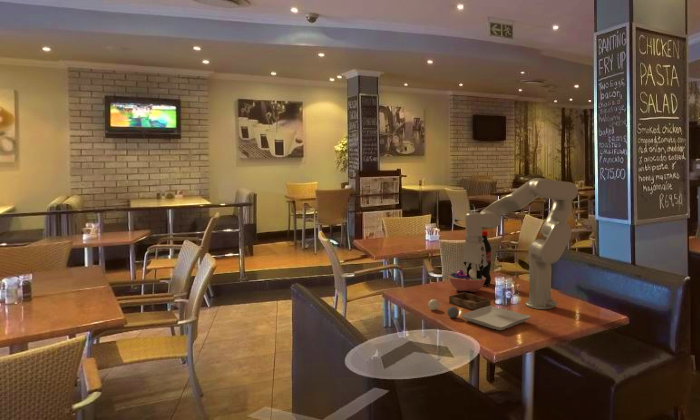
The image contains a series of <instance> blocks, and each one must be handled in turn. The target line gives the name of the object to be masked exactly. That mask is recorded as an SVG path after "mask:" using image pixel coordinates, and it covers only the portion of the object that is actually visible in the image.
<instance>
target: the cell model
mask: <svg viewBox="0 0 700 420" xmlns="http://www.w3.org/2000/svg"><path fill="white" fill-rule="evenodd" d="M447 277H448V279H449V283H450V284H451V286H452V287H453V288H454V289H455V290H456V291H458V292H462V291H463V292H470V293H476V292H478V291H479V290H481V289H482V288H483V285H484V283H485V280H486V278H485V277H484V276H482V278H480V279H477V278H475V279H474V278H471V277H467V272H464V270H463V269H458V270H457V271H456V272H451V273H449V274H448V275H447Z"/></svg>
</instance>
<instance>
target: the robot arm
mask: <svg viewBox="0 0 700 420" xmlns="http://www.w3.org/2000/svg"><path fill="white" fill-rule="evenodd" d="M578 193H579V188H578V186H577V185H576V184H575V183H573V182H570V181H562V180H554V179H548V178H541V177H535V178H534V177H533V178H531V179H530V180H528V181H527V182H526V183H525V182H524V184H522V185H521V186H519V187H517V189H515V190H514V191H513V192H511V193H509V194H507V195H505V196H503V197H502V198H500V199H497V200H496V201H494V202H492V203H490V204H488V206H487V207H485V208H484V209H482V210H481V211H480V212H476V211H475V212H467V213H465V216H464V217H465V218H464V219H465V227H464V228H465V241H464V243H463V244H464V245H463V257H461V262H462V263H463V264H464V266H465V269H466V273H467V277H470V275H469V271H470V269H471V268H473V266H472V265H473V264H475V266H476V265H477V269H478V270H477V271H476V272H477V279H480V278H482V270H483V269H484V268H485V266H487V265H488V263H487V261H486V251H485V245H484V242H482V241H483V240H484V238H482V231H483V229H495V228H497V227H499V226H500V225H501V223H502V219H501V216H503V215H505V214H508V213H512V212H516V211H520V210H522V209H523V208H524V207H526V206H528V205H529V204H530V203H532V202H533V201H535V200H536V199H538V198H543V199H550V200H551V201H552V206H551V209H550V211H549V213H548V215H547V217H546V219H545V220H544V222H543V225H542V227H541V230H540V231H541V234H542V235H543V237H545V238H546V239H534V240H533V241H531V243H530V244H529V246H528V258H529V285H528V300H526V301H525V304H524V305H525V306H527V307H528V308H531V309H535V310H536V309H537V310H551V309H553V308H555V307H557V306H558V301H555V300H553V296H551V295H552V294H551V293H552V290H551V289H552V264H555V263H556V262H558V261H559V260H560V258H561V257H562V255H563V254H564V251H565V250H566V248H567V246H568V244H569V242H570V241H571V237H572V229H571V226H570V224H568V220H569V219H570V216H571V214H572V210H573V207H572V206H573V205H572V204H573V203H572V200H575V199H576V198H577V196H578ZM482 263H483V265H482ZM479 265H480V266H479Z"/></svg>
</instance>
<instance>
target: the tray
mask: <svg viewBox="0 0 700 420" xmlns="http://www.w3.org/2000/svg"><path fill="white" fill-rule="evenodd" d="M448 299H449V301H448V304H450V305H454V306H457V307H460V308H463V309H467V310H468V311H469V310H470V311H474V310H477V309H480V308H484V307H487V306H492V305H491V304H492V303H491V299H490V298H487V297H486V298H485V297H483V296H479V295H476V294H473V293H468V292H467V291H463V292H460V293H456V294H451V295H449V296H448Z"/></svg>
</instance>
